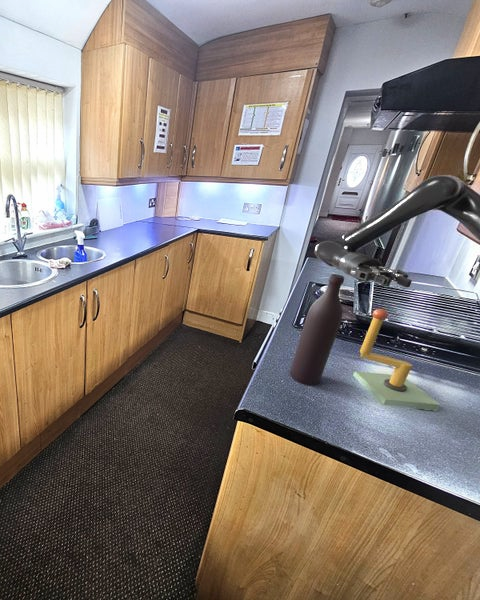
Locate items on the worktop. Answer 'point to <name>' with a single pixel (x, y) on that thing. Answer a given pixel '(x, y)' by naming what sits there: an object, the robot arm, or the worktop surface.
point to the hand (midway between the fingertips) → (398, 283)
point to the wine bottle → (318, 335)
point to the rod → (401, 366)
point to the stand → (395, 391)
